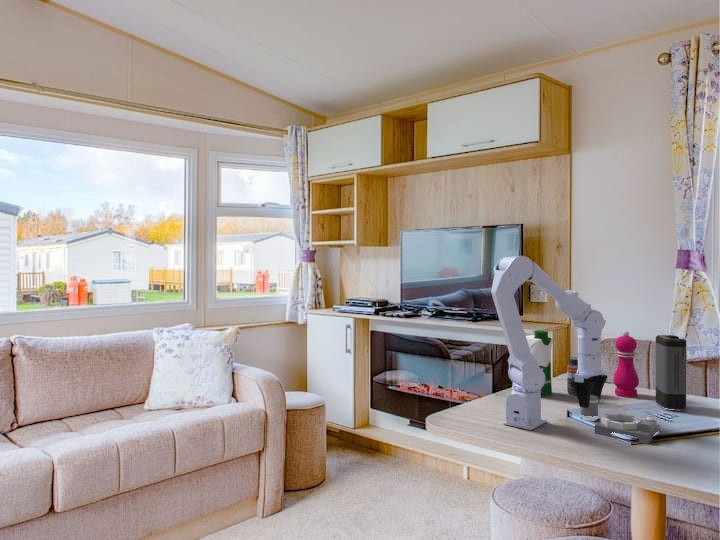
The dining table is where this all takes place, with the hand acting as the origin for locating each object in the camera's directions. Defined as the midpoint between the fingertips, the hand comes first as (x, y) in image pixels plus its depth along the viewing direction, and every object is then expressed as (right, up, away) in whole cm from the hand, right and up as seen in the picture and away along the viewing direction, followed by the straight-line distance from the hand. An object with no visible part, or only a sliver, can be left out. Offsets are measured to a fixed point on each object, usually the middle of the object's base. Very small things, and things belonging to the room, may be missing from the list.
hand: (589, 404), depth 148 cm
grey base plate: (+4, -4, -12) cm, 14 cm away
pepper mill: (+21, -3, +24) cm, 32 cm away
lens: (0, -4, 0) cm, 4 cm away
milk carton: (-6, -3, +28) cm, 28 cm away
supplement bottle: (+7, -3, +26) cm, 28 cm away
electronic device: (+27, -3, +10) cm, 29 cm away
